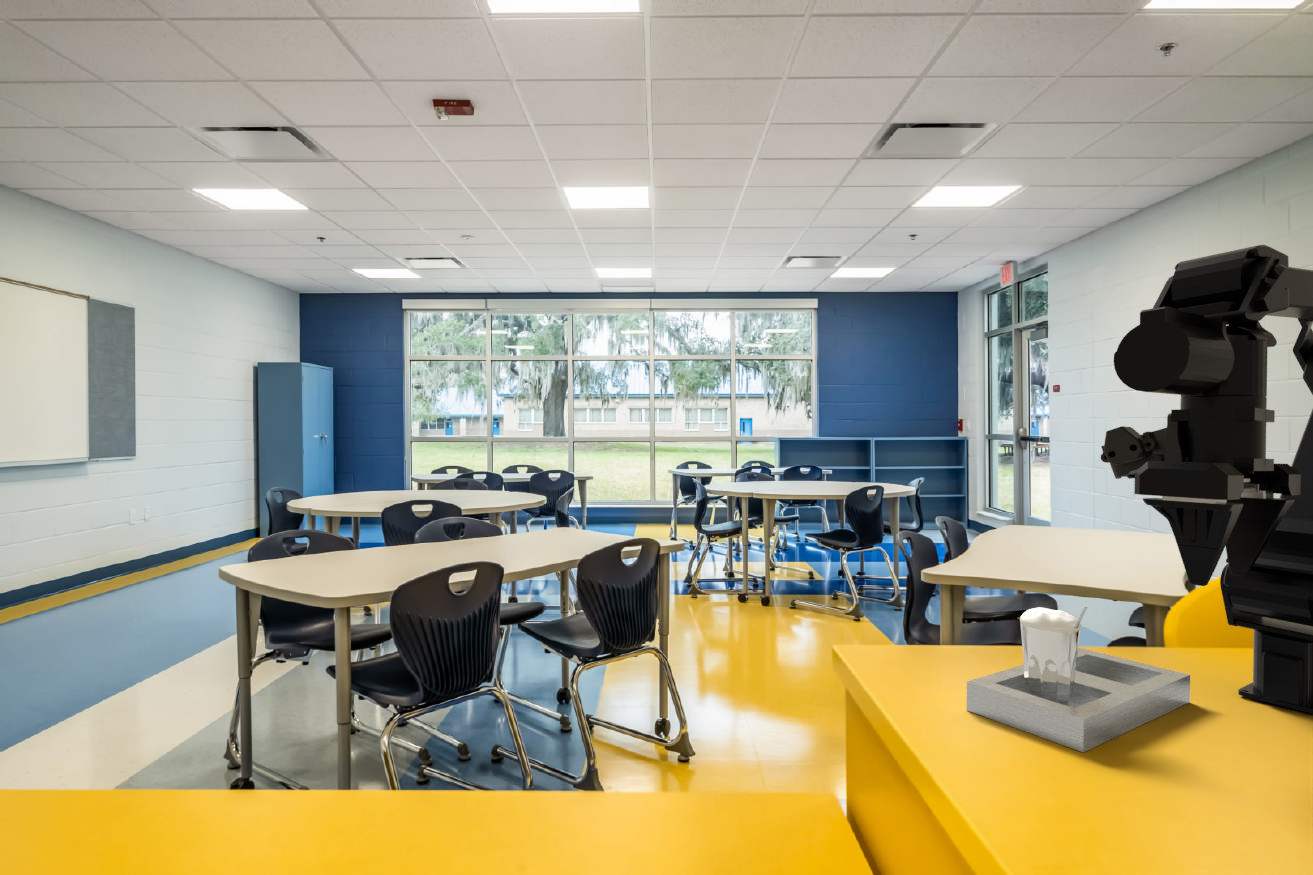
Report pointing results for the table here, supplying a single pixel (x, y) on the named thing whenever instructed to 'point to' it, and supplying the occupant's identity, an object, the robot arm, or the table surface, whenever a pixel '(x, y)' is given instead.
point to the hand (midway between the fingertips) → (1219, 579)
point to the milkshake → (1050, 653)
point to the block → (1083, 700)
